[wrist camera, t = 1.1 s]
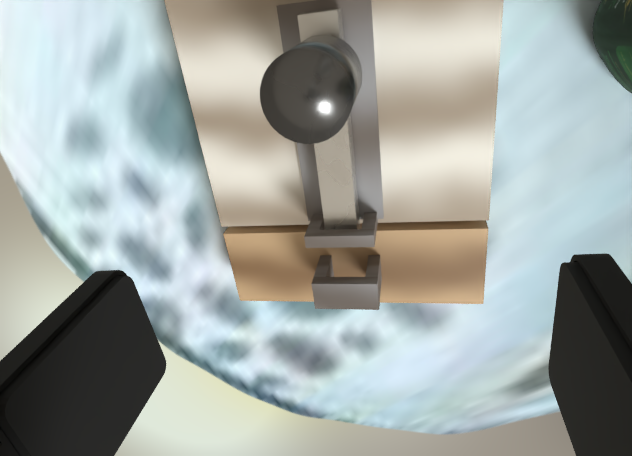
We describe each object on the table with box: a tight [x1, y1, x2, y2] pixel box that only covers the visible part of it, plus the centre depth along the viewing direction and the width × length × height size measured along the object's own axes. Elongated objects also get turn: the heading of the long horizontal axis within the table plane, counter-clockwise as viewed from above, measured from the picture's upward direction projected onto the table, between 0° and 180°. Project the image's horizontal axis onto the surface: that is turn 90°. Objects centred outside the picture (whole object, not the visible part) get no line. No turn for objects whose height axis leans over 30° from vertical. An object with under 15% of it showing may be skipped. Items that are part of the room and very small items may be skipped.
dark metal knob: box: [260, 8, 362, 230], centre depth 24 cm, size 13×4×7 cm, turn 7°
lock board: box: [164, 0, 503, 310], centre depth 28 cm, size 22×18×6 cm
